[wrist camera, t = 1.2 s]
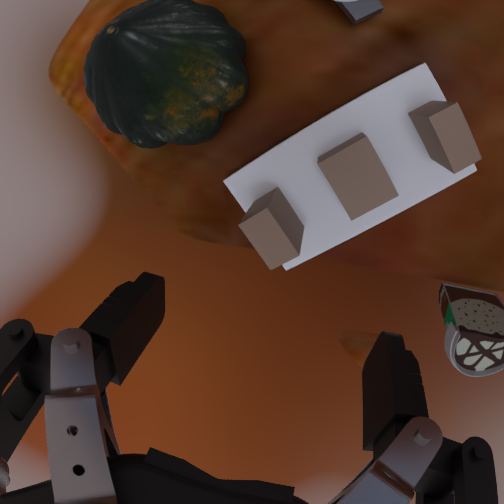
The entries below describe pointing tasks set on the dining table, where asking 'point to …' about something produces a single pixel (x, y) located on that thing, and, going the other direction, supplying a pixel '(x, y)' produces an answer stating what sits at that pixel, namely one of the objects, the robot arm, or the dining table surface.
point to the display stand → (353, 169)
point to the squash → (166, 72)
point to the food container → (473, 329)
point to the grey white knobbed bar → (360, 9)
